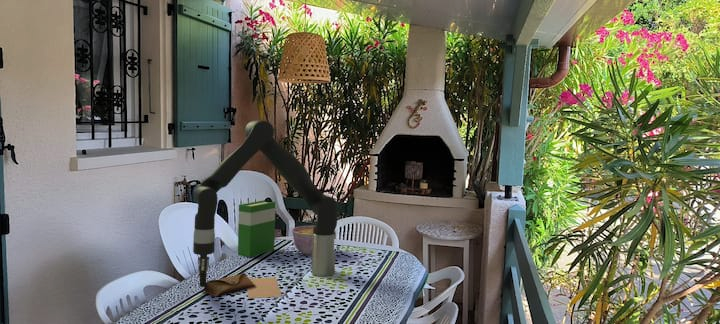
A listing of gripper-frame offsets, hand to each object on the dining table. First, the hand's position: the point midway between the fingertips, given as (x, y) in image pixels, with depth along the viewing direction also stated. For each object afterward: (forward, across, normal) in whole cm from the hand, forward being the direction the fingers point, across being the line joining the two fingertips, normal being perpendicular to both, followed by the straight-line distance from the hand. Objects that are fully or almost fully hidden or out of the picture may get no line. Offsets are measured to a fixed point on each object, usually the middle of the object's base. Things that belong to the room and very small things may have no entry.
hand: (202, 286), depth 182 cm
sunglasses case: (+2, 0, -10) cm, 10 cm away
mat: (+1, 0, -22) cm, 22 cm away
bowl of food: (+1, +46, -49) cm, 67 cm away
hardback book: (+2, +51, -23) cm, 56 cm away
